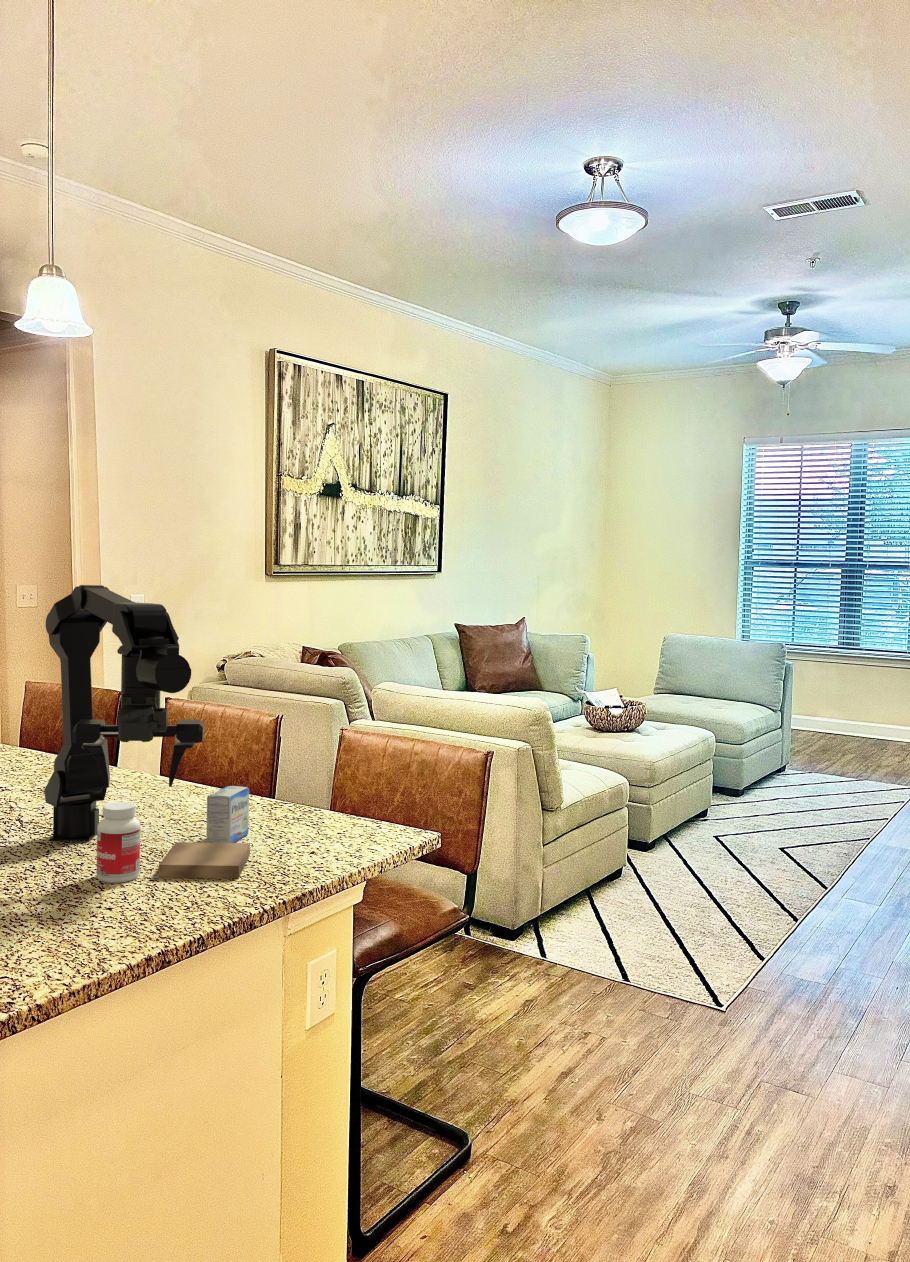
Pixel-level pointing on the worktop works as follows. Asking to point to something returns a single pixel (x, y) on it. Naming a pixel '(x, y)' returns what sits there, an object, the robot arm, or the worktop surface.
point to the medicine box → (228, 815)
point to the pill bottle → (118, 843)
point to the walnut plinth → (205, 860)
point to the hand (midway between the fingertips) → (139, 786)
